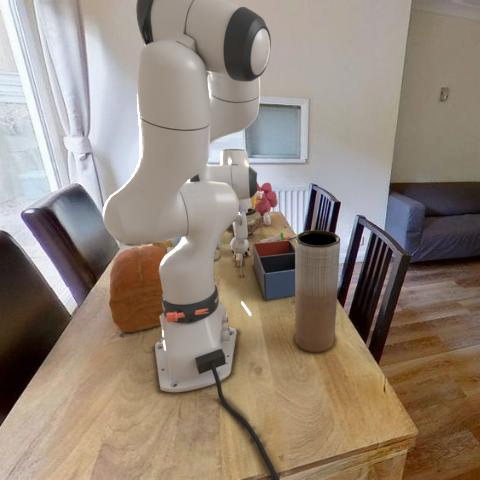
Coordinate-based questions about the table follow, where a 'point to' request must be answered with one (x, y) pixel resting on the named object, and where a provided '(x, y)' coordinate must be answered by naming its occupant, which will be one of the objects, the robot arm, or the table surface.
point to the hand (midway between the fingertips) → (239, 241)
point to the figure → (254, 200)
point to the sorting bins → (275, 268)
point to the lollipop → (235, 248)
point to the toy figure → (241, 256)
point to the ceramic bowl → (249, 222)
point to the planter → (316, 289)
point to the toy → (266, 202)
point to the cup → (273, 238)
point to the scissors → (290, 237)
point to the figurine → (167, 243)
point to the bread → (137, 288)
